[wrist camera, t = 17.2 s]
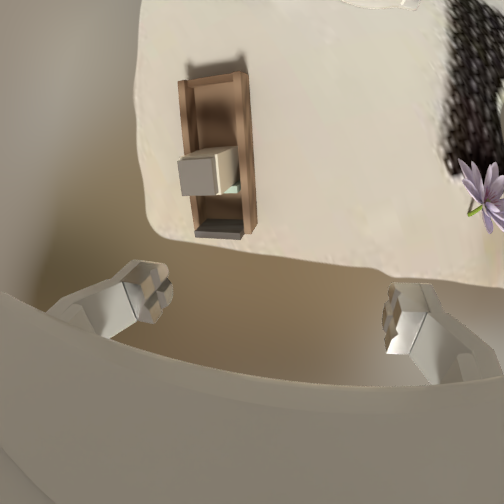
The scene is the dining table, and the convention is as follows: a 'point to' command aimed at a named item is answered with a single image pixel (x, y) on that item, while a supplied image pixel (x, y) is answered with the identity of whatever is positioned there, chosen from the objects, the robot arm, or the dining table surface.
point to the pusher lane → (220, 135)
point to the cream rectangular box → (209, 171)
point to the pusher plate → (234, 188)
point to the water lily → (486, 193)
